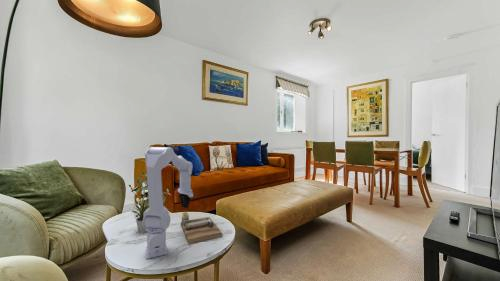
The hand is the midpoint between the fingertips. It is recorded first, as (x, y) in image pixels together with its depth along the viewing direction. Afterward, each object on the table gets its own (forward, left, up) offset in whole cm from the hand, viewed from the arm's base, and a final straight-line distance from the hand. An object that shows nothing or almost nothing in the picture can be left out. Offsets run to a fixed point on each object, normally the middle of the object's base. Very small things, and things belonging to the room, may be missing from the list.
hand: (185, 207), depth 111 cm
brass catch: (-3, 0, -5) cm, 5 cm away
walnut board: (-11, -6, -10) cm, 16 cm away
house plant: (+1, +20, -10) cm, 23 cm away
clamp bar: (-11, -5, -7) cm, 14 cm away
